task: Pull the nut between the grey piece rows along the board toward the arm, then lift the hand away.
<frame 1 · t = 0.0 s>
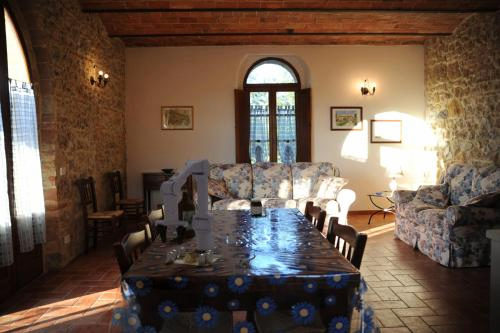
hand: (172, 243, 167), 10 cm above the table, tool pointing down, fingers open, 7 cm apart
grey piece: (191, 255, 173), on the board, point 3 cm above the table
spread jar: (259, 215, 284), on the table
board: (194, 261, 176), on the table
nut: (191, 260, 173), point 1 cm above the table, touching board
pliers: (247, 261, 175), on the table
olive oil: (186, 236, 225), on the table
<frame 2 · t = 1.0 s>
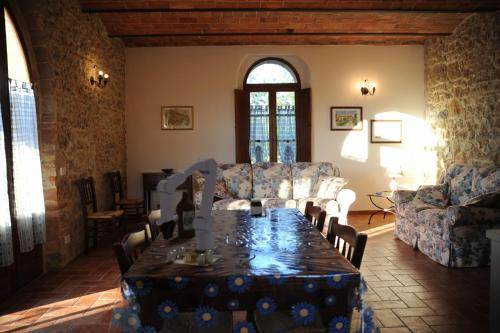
hand: (168, 238, 177), 10 cm above the table, tool pointing down, fingers closed
nothing on the table moved.
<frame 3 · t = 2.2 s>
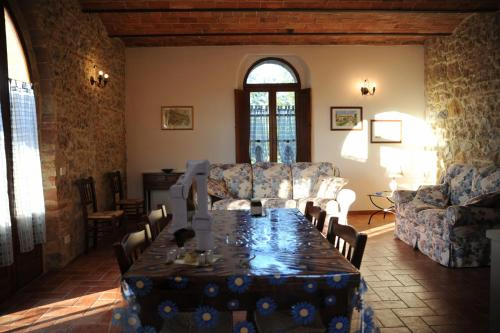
hand: (180, 247, 165), 9 cm above the table, tool pointing down, fingers closed
nothing on the table moved.
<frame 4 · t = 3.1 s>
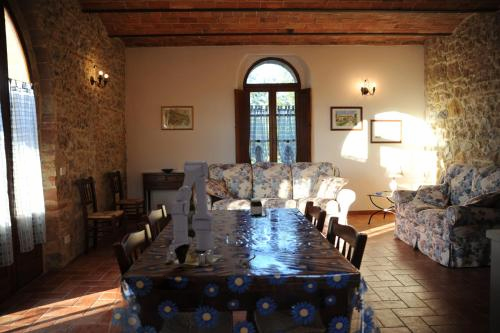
hand: (181, 263, 166), 2 cm above the table, tool pointing down, fingers closed
nothing on the table moved.
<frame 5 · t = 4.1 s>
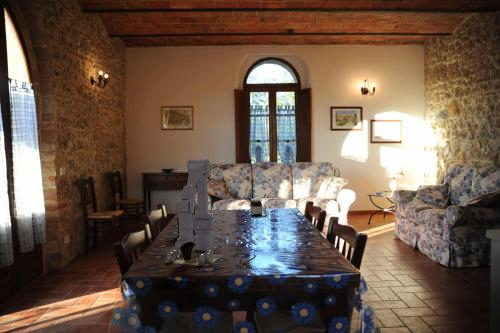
hand: (187, 260, 170), 2 cm above the table, tool pointing down, fingers closed
nut: (191, 260, 173), point 1 cm above the table, touching board, gripper
everything else where it was.
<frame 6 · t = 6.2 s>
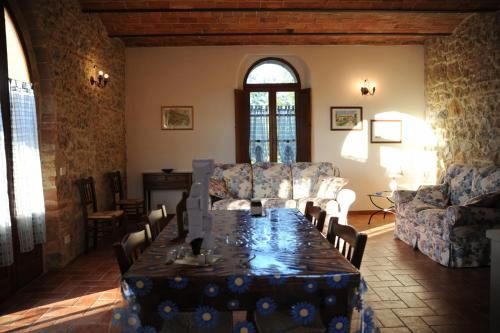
hand: (196, 255, 177), 2 cm above the table, tool pointing down, fingers closed
nut: (200, 255, 181), point 1 cm above the table, touching board, gripper
everything else where it was.
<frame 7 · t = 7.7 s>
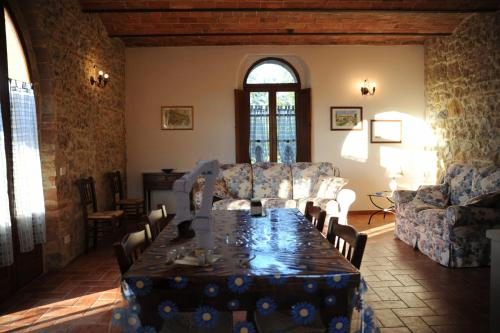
hand: (184, 238, 176), 10 cm above the table, tool pointing down, fingers closed
nut: (200, 255, 181), point 1 cm above the table, touching board
everything else where it was.
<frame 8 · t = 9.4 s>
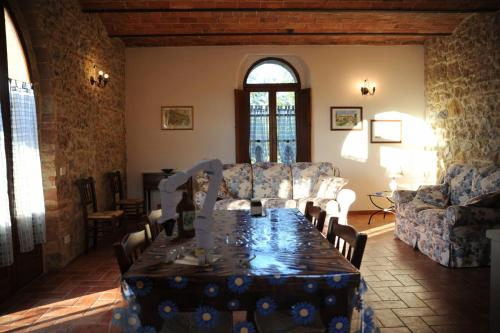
hand: (169, 236, 181), 10 cm above the table, tool pointing down, fingers closed
nothing on the table moved.
at the end: nut inside the target area (0.2 cm from its centre), point 1.0 cm above the table; nut moved 8.2 cm from its start; nut touching board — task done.
